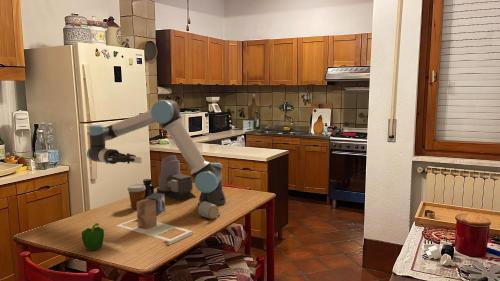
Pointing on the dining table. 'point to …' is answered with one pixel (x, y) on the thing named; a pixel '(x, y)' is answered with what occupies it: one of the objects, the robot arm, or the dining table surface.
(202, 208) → the ceramic mug
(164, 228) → the trap board
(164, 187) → the juicer
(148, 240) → the dining table surface
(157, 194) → the small box
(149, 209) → the walnut block
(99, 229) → the bell pepper
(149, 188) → the supplement bottle
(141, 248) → the dining table surface
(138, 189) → the disposable coffee cup
